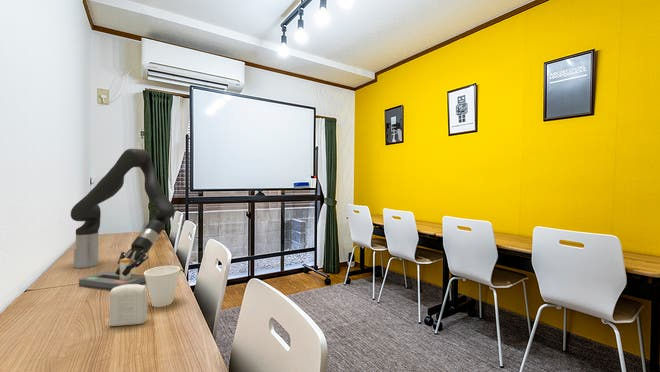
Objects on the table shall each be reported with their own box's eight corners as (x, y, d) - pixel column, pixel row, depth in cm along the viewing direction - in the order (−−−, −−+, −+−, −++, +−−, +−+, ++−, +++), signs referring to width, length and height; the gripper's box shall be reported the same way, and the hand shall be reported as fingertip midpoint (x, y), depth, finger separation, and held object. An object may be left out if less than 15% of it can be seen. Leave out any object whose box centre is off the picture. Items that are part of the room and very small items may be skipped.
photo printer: (149, 318, 96) (149, 281, 96) (144, 324, 92) (144, 285, 92) (114, 321, 94) (113, 283, 94) (107, 328, 90) (106, 288, 90)
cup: (160, 312, 101) (160, 276, 100) (135, 307, 104) (135, 273, 104) (187, 299, 112) (187, 267, 112) (164, 295, 116) (164, 264, 115)
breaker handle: (119, 283, 125) (119, 259, 125) (125, 281, 127) (125, 258, 127) (125, 283, 124) (125, 260, 124) (130, 282, 127) (130, 258, 126)
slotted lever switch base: (79, 286, 125) (79, 278, 124) (106, 277, 136) (106, 270, 136) (123, 292, 118) (123, 284, 118) (148, 282, 130) (148, 275, 130)
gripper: (128, 235, 134) (101, 268, 123) (152, 236, 131) (127, 271, 119) (138, 244, 140) (113, 277, 128) (162, 245, 136) (139, 280, 124)
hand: (120, 274), depth 124 cm, fingers closed on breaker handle, 3 cm apart
